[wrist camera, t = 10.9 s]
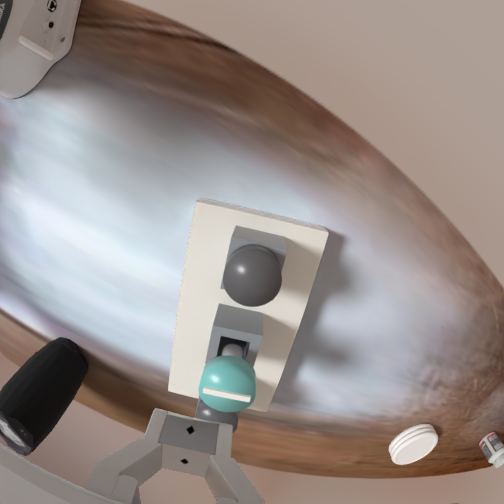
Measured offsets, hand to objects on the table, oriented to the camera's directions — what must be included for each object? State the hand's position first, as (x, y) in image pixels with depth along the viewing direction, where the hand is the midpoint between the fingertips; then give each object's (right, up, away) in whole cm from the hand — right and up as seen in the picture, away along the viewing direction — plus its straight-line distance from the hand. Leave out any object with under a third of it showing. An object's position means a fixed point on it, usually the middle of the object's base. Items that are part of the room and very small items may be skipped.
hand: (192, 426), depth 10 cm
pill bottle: (+62, -41, +38) cm, 83 cm away
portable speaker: (-27, -10, +31) cm, 43 cm away
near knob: (+2, +6, +21) cm, 22 cm away
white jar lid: (+34, -30, +36) cm, 57 cm away
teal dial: (0, -3, +20) cm, 20 cm away
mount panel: (+1, -1, +27) cm, 27 cm away
